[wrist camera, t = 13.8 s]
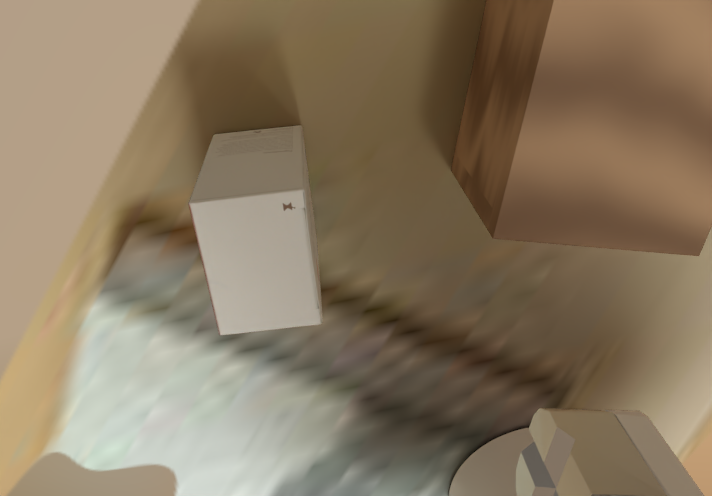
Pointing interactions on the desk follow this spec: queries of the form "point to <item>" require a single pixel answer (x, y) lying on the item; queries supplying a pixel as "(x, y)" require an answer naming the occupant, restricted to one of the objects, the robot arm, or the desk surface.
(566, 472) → the robot arm
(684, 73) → the shelf
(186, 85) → the desk surface
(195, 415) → the desk surface
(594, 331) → the desk surface
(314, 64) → the desk surface
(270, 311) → the small box
